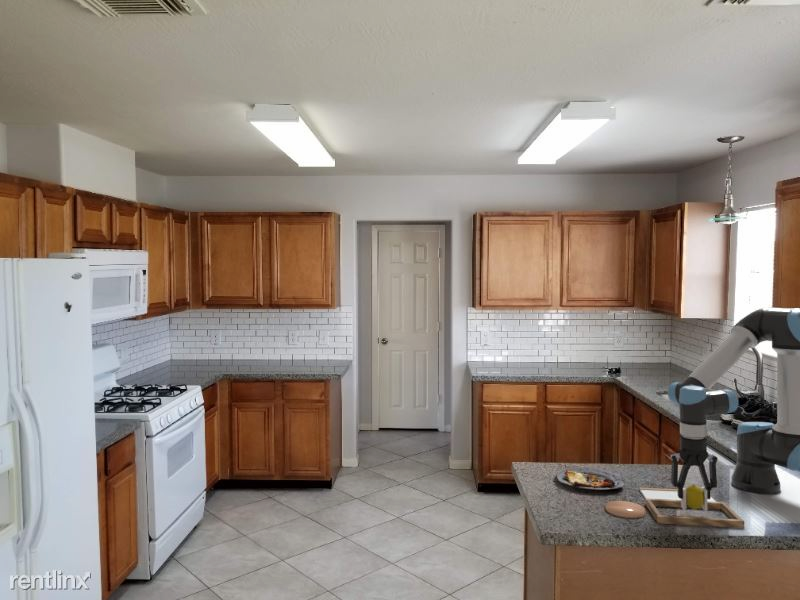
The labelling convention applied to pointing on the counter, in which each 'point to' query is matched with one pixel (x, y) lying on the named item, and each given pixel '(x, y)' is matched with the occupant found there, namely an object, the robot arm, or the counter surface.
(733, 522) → the wooden frame
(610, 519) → the counter surface
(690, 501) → the lemon
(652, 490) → the lid
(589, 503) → the counter surface
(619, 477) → the food plate
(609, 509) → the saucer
